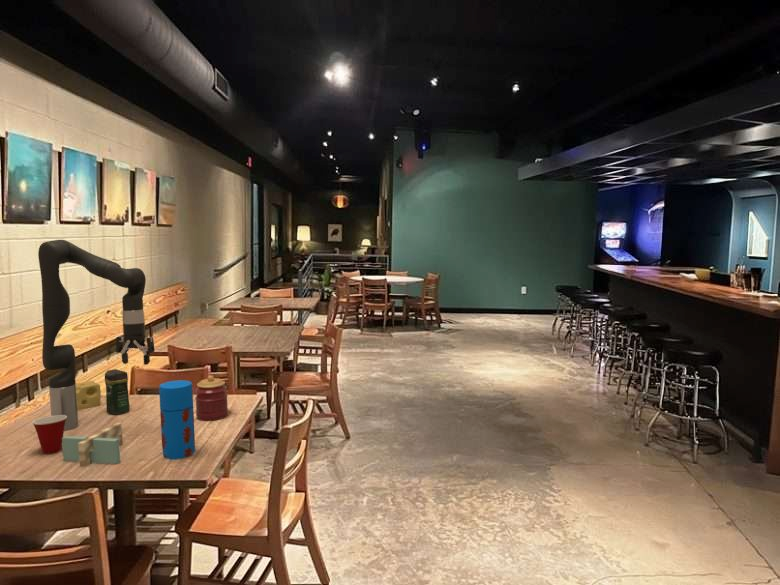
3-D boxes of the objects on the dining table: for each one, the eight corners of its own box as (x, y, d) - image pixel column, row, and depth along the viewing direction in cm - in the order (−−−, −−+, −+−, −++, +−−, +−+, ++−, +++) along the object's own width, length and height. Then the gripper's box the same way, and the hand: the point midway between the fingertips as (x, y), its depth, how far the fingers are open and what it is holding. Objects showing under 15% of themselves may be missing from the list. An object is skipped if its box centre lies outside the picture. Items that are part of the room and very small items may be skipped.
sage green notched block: (63, 460, 195) (61, 437, 194) (67, 458, 197) (66, 435, 196) (116, 463, 192) (115, 441, 191) (120, 461, 194) (118, 438, 193)
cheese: (76, 410, 249) (74, 388, 248) (69, 405, 257) (68, 383, 255) (101, 405, 256) (100, 384, 254) (94, 400, 264) (93, 379, 262)
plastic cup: (65, 442, 211) (63, 411, 210) (72, 450, 203) (70, 418, 202) (31, 450, 204) (28, 417, 203) (37, 459, 196) (35, 425, 195)
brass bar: (85, 466, 190) (83, 443, 189) (79, 466, 190) (78, 443, 189) (122, 444, 209) (121, 423, 209) (117, 443, 210) (116, 422, 209)
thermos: (157, 453, 200) (153, 384, 198) (185, 445, 208) (182, 378, 205) (171, 462, 193) (168, 390, 190) (200, 453, 201) (197, 384, 198)
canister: (222, 421, 234) (221, 379, 232) (191, 421, 234) (189, 379, 232) (232, 411, 247) (230, 371, 245) (202, 411, 247) (200, 371, 245)
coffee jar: (132, 411, 247) (130, 370, 245) (114, 416, 241) (112, 373, 238) (121, 407, 253) (119, 366, 251) (103, 412, 247) (101, 370, 244)
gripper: (110, 322, 211) (112, 365, 213) (145, 323, 208) (147, 366, 210) (122, 319, 218) (125, 361, 220) (156, 320, 216) (159, 362, 218)
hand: (136, 363), depth 215 cm, fingers open, 8 cm apart
